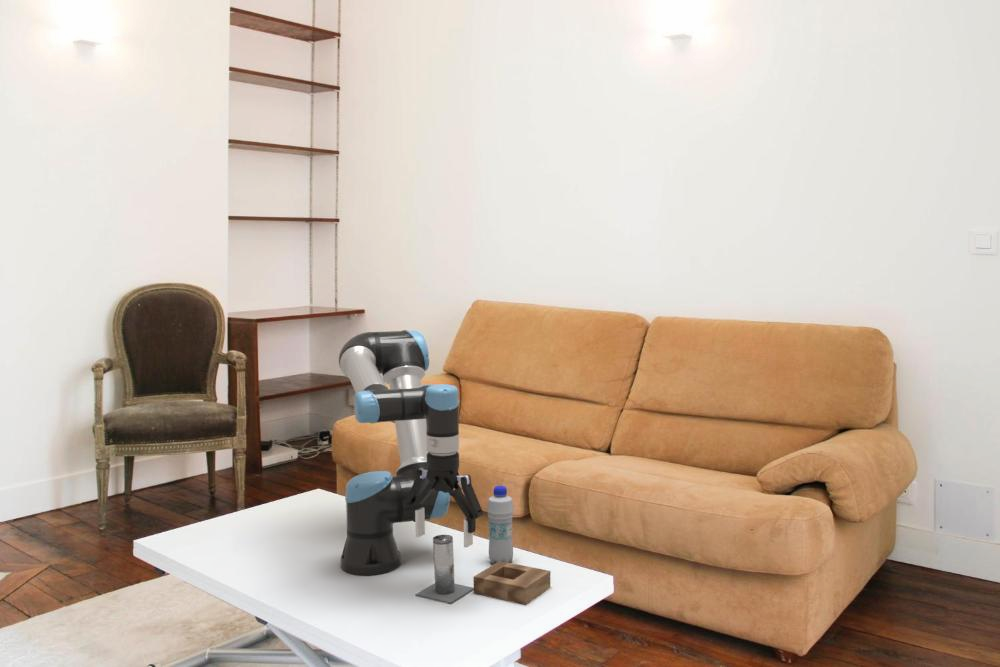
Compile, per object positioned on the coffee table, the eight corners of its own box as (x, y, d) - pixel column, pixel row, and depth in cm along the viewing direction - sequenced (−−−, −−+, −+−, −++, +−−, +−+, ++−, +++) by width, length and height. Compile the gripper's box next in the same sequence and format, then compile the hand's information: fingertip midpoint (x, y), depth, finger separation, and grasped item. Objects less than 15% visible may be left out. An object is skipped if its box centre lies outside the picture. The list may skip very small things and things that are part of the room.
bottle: (511, 567, 232) (510, 490, 229) (485, 565, 233) (484, 488, 231) (516, 558, 238) (515, 482, 236) (491, 556, 239) (490, 481, 237)
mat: (415, 595, 214) (415, 594, 214) (439, 581, 222) (439, 580, 222) (451, 604, 209) (451, 602, 209) (474, 589, 217) (474, 587, 217)
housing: (473, 593, 215) (473, 576, 215) (499, 576, 225) (499, 560, 225) (525, 604, 208) (525, 587, 207) (550, 587, 218) (550, 570, 218)
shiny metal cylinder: (431, 592, 215) (429, 539, 213) (442, 585, 219) (440, 533, 217) (447, 595, 212) (445, 542, 211) (458, 588, 216) (456, 536, 215)
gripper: (389, 448, 215) (391, 536, 218) (480, 462, 202) (480, 555, 205) (408, 442, 222) (410, 527, 224) (497, 455, 209) (497, 544, 211)
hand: (443, 540), depth 215 cm, fingers open, 13 cm apart
